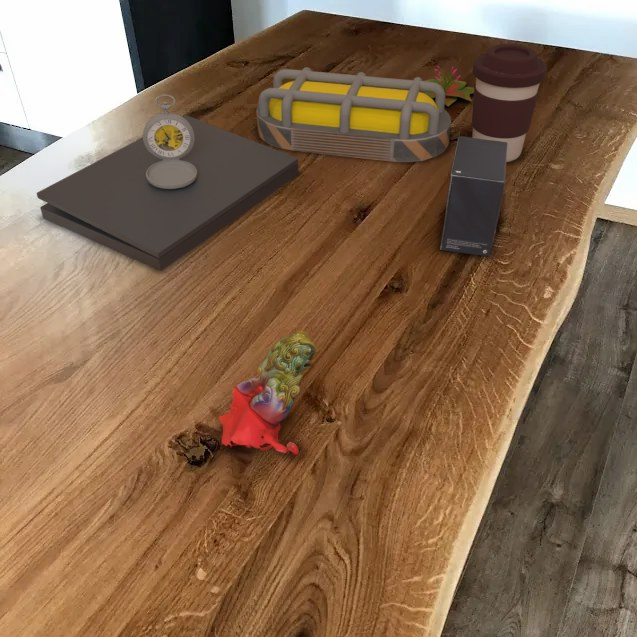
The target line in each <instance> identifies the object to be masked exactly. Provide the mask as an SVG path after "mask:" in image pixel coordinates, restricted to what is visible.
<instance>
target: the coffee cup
mask: <svg viewBox="0 0 637 637" xmlns="http://www.w3.org/2000/svg"><path fill="white" fill-rule="evenodd" d="M547 71H548V65H547V63H546V62H545V60H543V59H541V58H540V57H539V55H538V52H537V51H536V50H535V49H533V48H531V47H530V46H527V45H522V44H516V43H500V44H495V45H492V46H490V47H488V48H487V50H486V51H485V53H482V54H480V55H478V56H476V58H475V59H474V60H473V64H472V75H473V76H474V78H475V84H474V85H473V88H474V93H473V98H472V113H471V114H472V115H471V126H472V134H471V138H477V139H485V140H493V141H501V142H507V143H508V147H507V161H506V163H510V162H513V161H515V160H517V159H518V158H519V157H521V154H522V152H523V147H524V143H525V140H526V137H527V133H528V132H529V129H530V127H531V123H532V120H533V116H534V112H535V109H536V105H537V101H538V98H539V92H540V91H539V86H540V84H541V83H543V82H544V81H545V80H546V76H547Z"/></svg>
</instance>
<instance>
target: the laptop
mask: <svg viewBox="0 0 637 637" xmlns="http://www.w3.org/2000/svg"><path fill="white" fill-rule="evenodd" d="M297 176H299V163H297V164H296V165H295V166H293V167H292V168H290V169H289V170H287V171H286V172H284V173H283V174H281V175H280V176H278V177H277V178H276V179H274V180H273V181H271V182H270V183H268V184H267V185H265V186H264V187H262V188H261V189H259V190H258V191H257V192H255V193H254V194H252V195H251V196H249V197H248V198H246V199H245V200H243V201H242V202H240V203H239V204H238V205H236V206H235V207H233V208H232V209H230V210H229V211H227V212H226V213H224V214H223V215H221V216H220V217H219V218H217V219H216V220H214V221H213V222H211V223H210V224H208V225H207V226H205V227H204V228H202V229H201V230H200V231H198V232H197V233H195V234H194V235H192V236H191V237H189V238H188V239H186V240H185V241H183V242H182V243H181V244H179V245H178V246H176V247H175V248H173V249H172V250H170V251H169V252H167V253H166V254H164V255H163V256H162V257H160V258H157V257H155V256H153V255H151V254H149V253H147V252H145V251H143V250H141V249H139V248H137V247H135V246H133V245H131V244H129V243H127V242H125V241H123V240H121V239H119V238H117V237H115V236H113V235H111V234H109V233H107V232H105V231H103V230H101V229H99V228H97V227H95V226H93V225H91V224H89V223H87V222H85V221H83V220H81V219H79V218H77V217H75V216H73V215H71V214H69V213H67V212H65V211H63V210H61V209H59V208H57V207H55V206H53V205H51V204H49V203H47V202H46V203H45V204H44V205H41V206H40V207H39V209H40V212H41V216H42V219H43V220H46V221H48V222H50V223H52V224H54V225H57V226H59V227H61V228H64V229H65V230H68V231H70V232H72V233H75V234H76V235H79V236H82V237H83V238H85V239H88V240H90V241H93V242H95V243H97V244H99V245H102V246H103V247H106V248H108V249H110V250H113V251H115V252H116V253H119V254H121V255H123V256H125V257H127V258H131V259H133V260H135V261H137V262H139V263H142V264H143V265H146V266H148V267H151V268H153V269H155V270H157V271H159V272H162V271H163V270H165V269H166V268H168V267H169V266H171V265H172V264H174V263H175V262H176V261H178V260H179V259H181V258H182V257H183V256H186V254H188V253H189V252H191V251H192V250H193V249H195V248H196V247H198V246H199V245H200V244H202V243H204V242H205V241H207V240H208V239H209V238H210V237H212V236H213V235H215V234H216V233H218V232H219V231H220V230H222V229H223V228H224V227H226V226H228V225H229V224H230V223H232V222H234V221H235V220H236V219H238V218H239V217H241V216H242V215H243V214H245V213H246V212H248V211H249V210H250V209H252V208H254V207H255V206H256V205H257V204H259V203H261V202H263V200H265V199H266V198H268V197H269V196H271V195H272V194H273V193H275V192H276V191H277V190H279V189H280V188H282V187H283V186H284V185H287V183H289V182H290V181H292V180H293V179H295V178H296V177H297Z"/></svg>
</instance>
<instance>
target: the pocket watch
mask: <svg viewBox="0 0 637 637" xmlns="http://www.w3.org/2000/svg"><path fill="white" fill-rule="evenodd" d="M161 97H169V98H170V99H172V103H171V104H168V102H167V101H163V102H162V104H159V102H158V100H159V99H160V98H161ZM154 104H155V105H156V106H157V107H159V108H160V109H161V110H163V112H160V113H158V114H155V115H154V116H151V117H150V119H149V120H147V122H146V123H145V125H144V128H143V130H142V137H143V141H144V145H145V146H146V148H147V150H148V151H149V152H150V153H151V154H153V155H154V156H155V157H157V158H160V159H163V161H160V162H157V163H155V164H153V165H151V166H150V167H149V168H148V169H147V171H146V178H147V180H148V182H149V183H150V184H152V185H154V186H156V187H159V188H163V189H177V188H182V187H185V186H187V185H190V184H191V183H193V182H194V180H195V179H196V177H197V169H196V167H195V166H194V165H192V164H191V163H189V162H186V161H182V160H179V159H180V158H182V157H184V156H186V155H187V154H188V153H189V152H190V151H191V149H192V147H193V144H194V140H195V138H194V132H193V129H192V126H191V125H190V124H189V122H188V121H187V120H186V119H185V118H183V117H182V116H183V115H180V114H178V113H175V112H169V110H170V109H171V108H172V107H173V106H174V105H176V98H175V97H174V96H173V95H171V94H166V93H165V94H160V95H157V96H156V98H155V99H154ZM177 130H180V133H179V132H177V133H178V134H181V135H178V134H177V133H176V132H175V131H177ZM170 135H171V136H170ZM182 136H183V138H182V141H180V140H176V139H177V137H178V139H179V138H180V137H182ZM156 139H157V141H159V142H157V141H156ZM166 139H168V140H166ZM170 139H171V140H170ZM163 140H166V142H163ZM176 142H178V143H176ZM160 144H162V145H160ZM163 144H165V146H166V145H167V144H168V146H171V147H165V146H163ZM175 145H176V146H175Z"/></svg>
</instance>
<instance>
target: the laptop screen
mask: <svg viewBox="0 0 637 637" xmlns="http://www.w3.org/2000/svg"><path fill="white" fill-rule="evenodd" d="M181 116H182V117H183V118H185V119H186V120H187V121H188V122H189V124H190V125H191V126H192V129H193V132H194V138H195V140H194V144H193V147H192V149H191V151H190V152H189V153H188V154H187V155H186V156H184V157H182V158H180V159H179V160H182V161H186V162H189V163H191V164H192V165H194V166H195V167H196V169H197V177H196V179H195V180H194V182H193V183H191V184H190V185H187V186H185V187H182V188H177V189H163V188H159V187H156V186H154V185H152V184H150V183H149V182H148V180H147V178H146V171H147V169H148V168H149V167H150V166H151V165H153V164H155V163H157V162H160V161H163V159H160V158H157V157H155V156H154V155H153V154H151V153H150V152H149V151H148V150H147V148H146V146H145V145H144V141H143V136H142V137H141V138H139V139H137V140H134V141H133V142H131V143H129V144H127V145H125V146H123V147H121V148H120V149H118V150H115V151H114V152H111V153H110V154H108V155H106V156H104V157H102V158H100V159H99V160H97V161H95V162H93V163H91V164H89V165H87V166H85V167H83V168H81V169H80V170H78V171H76V172H74V173H72V174H70V175H68V176H66V177H64V178H63V179H60V180H58V181H56V182H55V183H52V184H51V185H48V186H47V187H45V188H43V189H41V190H39V191H38V192H36V196H37V199H39V200H40V201H43V202H45V203H46V204H47V203H49V204H51V205H53V206H55V207H57V208H59V209H61V210H63V211H65V212H67V213H69V214H71V215H73V216H75V217H77V218H79V219H81V220H83V221H85V222H87V223H89V224H91V225H93V226H95V227H97V228H99V229H101V230H103V231H105V232H107V233H109V234H111V235H113V236H115V237H117V238H119V239H121V240H123V241H125V242H127V243H129V244H131V245H133V246H135V247H137V248H139V249H141V250H143V251H145V252H147V253H149V254H151V255H153V256H155V257H157V258H160V257H162V256H163V255H164V254H166V253H167V252H169V251H170V250H172V249H173V248H175V247H176V246H178V245H179V244H181V243H182V242H183V241H185V240H186V239H188V238H189V237H191V236H192V235H194V234H195V233H197V232H198V231H200V230H201V229H202V228H204V227H205V226H207V225H208V224H210V223H211V222H213V221H214V220H216V219H217V218H219V217H220V216H221V215H223V214H224V213H226V212H227V211H229V210H230V209H232V208H233V207H235V206H236V205H238V204H239V203H240V202H242V201H243V200H245V199H246V198H248V197H249V196H251V195H252V194H254V193H255V192H257V191H258V190H259V189H261V188H262V187H264V186H265V185H267V184H268V183H270V182H271V181H273V180H274V179H276V178H277V177H278V176H280V175H281V174H283V173H284V172H286V171H287V170H289V169H290V168H292V167H293V166H295V165H296V164H299V158H298V157H296V156H293V155H290V154H288V153H285V152H283V151H281V150H277V149H275V148H272V147H270V146H267V145H265V144H262V143H260V142H257V141H254V140H251V139H249V138H246V137H244V136H241V135H239V134H236V133H234V132H231V131H228V130H225V129H223V128H221V127H218V126H215V125H213V124H210V123H207V122H205V121H202V120H199V119H197V118H195V117H193V116H189V115H187V114H185V115H181ZM175 132H176V133H177V132H179V133H180V130H177V131H175ZM177 134H178V133H177ZM178 135H181V134H178ZM170 136H171V135H170ZM182 138H183V136H182V137H180V138H179V139H178V137H177V139H176V140H180V141H182ZM166 140H168V139H166ZM166 140H163V142H166ZM170 140H171V139H170ZM156 141H157V139H156ZM157 142H159V141H157ZM176 143H178V142H176ZM160 145H162V144H160ZM163 146H165V144H163ZM175 146H176V145H175ZM165 147H171V146H168V144H167V145H166V146H165Z"/></svg>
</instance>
